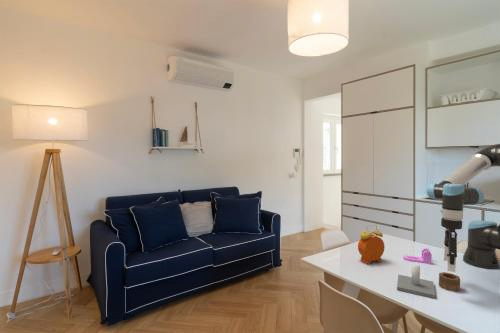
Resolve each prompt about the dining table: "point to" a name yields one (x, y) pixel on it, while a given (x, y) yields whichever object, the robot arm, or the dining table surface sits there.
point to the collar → (449, 281)
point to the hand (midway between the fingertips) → (449, 265)
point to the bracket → (425, 257)
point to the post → (416, 284)
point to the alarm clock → (371, 246)
